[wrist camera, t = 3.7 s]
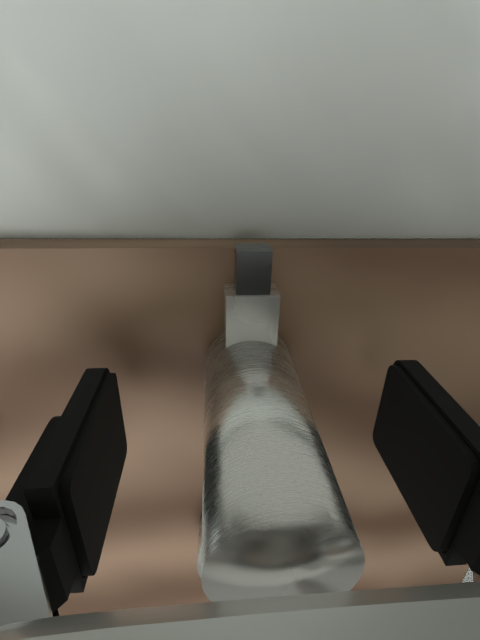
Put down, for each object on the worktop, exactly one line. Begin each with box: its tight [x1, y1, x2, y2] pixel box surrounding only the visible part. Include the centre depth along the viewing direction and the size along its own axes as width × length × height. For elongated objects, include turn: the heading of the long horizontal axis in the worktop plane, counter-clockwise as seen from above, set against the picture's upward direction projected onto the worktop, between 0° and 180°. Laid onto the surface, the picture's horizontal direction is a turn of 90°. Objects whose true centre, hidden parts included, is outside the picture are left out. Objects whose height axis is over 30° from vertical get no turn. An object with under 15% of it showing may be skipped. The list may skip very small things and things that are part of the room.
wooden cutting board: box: [0, 239, 480, 616], centre depth 18 cm, size 26×26×1 cm
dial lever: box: [197, 243, 365, 602], centre depth 11 cm, size 15×4×7 cm, turn 179°
